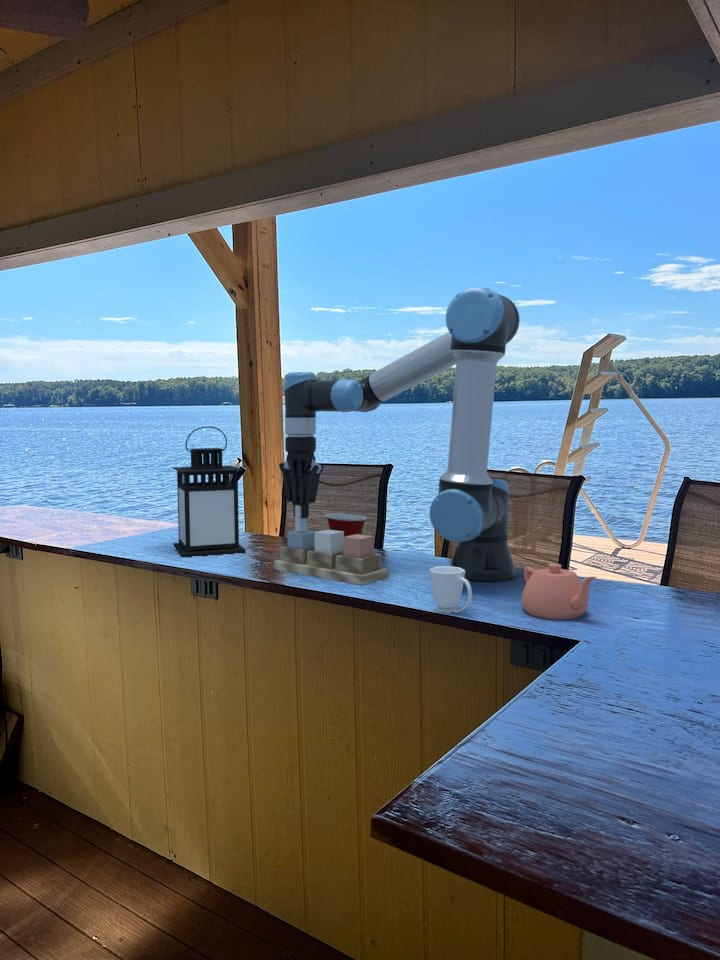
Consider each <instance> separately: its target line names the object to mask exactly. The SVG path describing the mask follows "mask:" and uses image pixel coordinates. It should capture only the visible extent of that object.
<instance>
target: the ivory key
mask: <svg viewBox="0 0 720 960" xmlns="http://www.w3.org/2000/svg"><path fill="white" fill-rule="evenodd" d="M343 537H344V531H336V530H330V529H324V530H319V531H314V538H315V552H321V553H327V554H333V553H337V552H342V551H343Z"/></svg>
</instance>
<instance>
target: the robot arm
mask: <svg viewBox="0 0 720 960" xmlns="http://www.w3.org/2000/svg"><path fill="white" fill-rule="evenodd" d="M519 313H520V312H519V310H518V308H517V306H516V305H515V303H514V302H513V301H512V300H511V299H510V298H508V297H506V296H505V295H502V294H499V293H497V292H496V291H495V290H493V289H491V288H488V287H481V286H472V287H467V288H465V289H463V290H462V291H460V292H458V293H457V294H456V295H455V296H454V297H453V298H452V299H451V301H450V302H449V303H448V306H447V309H446V311H445V324H446V325H445V326H446V327H447V330H448V331H447V332H446V333H444V334H441V335H440V336H438V337H437V338H435V339H433V340H431V341H429V342H427V343H426V344H423V345H422V346H420V347H418V348H416V349H414V350H413V351H411V352H409V353H407V354H405V355H403V356H402V357H400V358H398V359H396V360H394V361H392V362H390V363H389V364H387V365H385V366H383V367H381V368H379V369H378V370H376V371H374V372H372V373H370V374H369V375H367V376H365V377H363V378H361V379H359V380H356V379H349V378H347V379H346V378H342V379H327V380H326V379H325V380H323V379H322V380H319V379H317V376H316V373H314V372H311V371H302V372H301V371H298V372H297V371H294V372H292V371H291V372H287V374H286V375H285V380H284V381H285V382H284V390H283V391H284V402H285V403H284V406H285V407H284V408H285V410H284V411H285V412H284V413H285V415H284V417H285V419H284V424H285V425H284V434H285V435H287V436H286V437H285V438H284V439H285V440H284V441H285V443H284V444H285V445H284V447H285V452H287V455H286V459H285V461H283V462H281V463H279V464H278V466H279V467H278V468H279V470H280V471H281V474H282V481H283V484H284V491H285V497H286V501H287V502H290V503H292V505H293V506H292V507H293V517H294V519H295V520H294V521H295V525H294V526H295V527H294V531H296V532H303V531H308V518H309V515H310V513H309V511H310V510H309V509H310V505H311V504H314V503H316V501H317V494H318V489H319V488H318V487H319V483H320V478H321V473H322V471H323V470H324V465H323V464H319V463H317V460H316V459H317V458H316V457H315V452H316V450H317V438H316V436H314V435H316V434H317V429H316V428H317V419H316V417H317V412H330V413H331V412H332V413H333V412H335V413H337V412H341V413H350V412H360V413H369V412H373V411H376V410H377V409H378V408H379V407H380V405H381V404H382V403H384V402H385V401H387V400H389V399H391V398H393V397H395V396H397V395H399V394H401V393H402V392H404V391H407V390H409V389H411V388H412V387H414V386H417V385H418V384H421V383H422V382H424V381H426V380H428V379H430V378H432V377H434V376H436V375H438V374H439V373H442V372H443V371H445V370H448V369H449V368H451V367H453V366H455V365H456V366H455V375H454V376H455V378H454V390H453V398H452V399H453V400H452V408H451V409H452V413H451V424H450V432H449V433H450V437H449V444H448V445H449V447H448V458H447V459H448V460H447V467H446V468H447V469H446V471H445V472H443V474H442V475H440V476H439V479H438V480H439V481H438V493H437V495H435V497H434V498H433V500H432V502H431V503H430V507H429V519H430V523H431V525H432V528H433V529H434V530H435V531H436V532H437V533H438V535H439V536H441V538H442V539H445V540H447V541H449V542H453V543H456V547H455V549H454V552H453V556H452V559H451V562H450V565H449V566H452V567H460V568H462V569H464V570H465V576H464V578H465V579H466V580H468V581H475V582H498V581H506V580H510V579H512V578H515V570H516V569H515V564H514V561H513V557H512V553H511V551H510V548H509V543H508V535H509V534H508V533H509V532H508V531H509V529H508V528H509V526H508V525H509V496H510V492H509V485H508V482H507V481H505V480H504V479H497V478H496V479H495V478H491V477H490V476H489V475H488V465H489V464H488V462H489V454H490V453H489V452H490V442H491V430H492V429H491V428H492V420H493V409H494V399H495V396H494V395H495V387H496V378H497V377H496V375H497V368H498V367H497V366H498V362H499V361H500V360H501V359H502V358H504V356H505V355H506V347H507V344H508V343H510V342H511V341H513V338H514V337H515V336H516V334H517V333H518V331H519V327H520V321H521V320H520V318H521V317H520V314H519Z"/></svg>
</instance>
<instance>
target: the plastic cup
mask: <svg viewBox="0 0 720 960" xmlns="http://www.w3.org/2000/svg"><path fill="white" fill-rule="evenodd" d="M325 516H326V518H327V524H328V528H329V530H336V531H344V537H345V536H350V535H355V534H360V535H362V533H363V528H364V525H365V522H366V521H367V519H368V517H367V516H362V515H360V514H359V515H357V514H347V513H328V514H327V513H326V514H325Z"/></svg>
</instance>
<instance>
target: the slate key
mask: <svg viewBox="0 0 720 960" xmlns="http://www.w3.org/2000/svg"><path fill="white" fill-rule="evenodd" d="M314 532H315V530H314V531H312V530H307V531H303V532H296V531H295V530H292V531H287V534H286V535H287V536H286V537H287V539H286V541H287V546H288V548H294V549H301V550H304V549H308V548H313V547H315V538H314Z"/></svg>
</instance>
